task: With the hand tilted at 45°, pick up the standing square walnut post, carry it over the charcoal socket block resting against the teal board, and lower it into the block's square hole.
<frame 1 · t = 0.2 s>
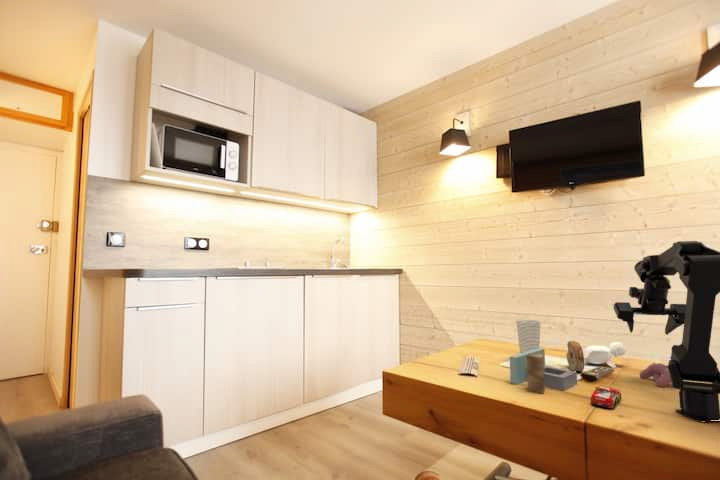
hand: (648, 332, 114), 15 cm above the table, tool tilted 35°, fingers open, 9 cm apart
newspaper: (471, 370, 127), on the table
backstop board: (528, 377, 115), on the table
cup: (529, 363, 134), on the table
walnut post: (536, 390, 102), on the table
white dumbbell: (603, 365, 131), on the table
race car: (606, 403, 94), on the table
video game controller: (658, 383, 110), on the table
stone disc: (576, 371, 123), on the table
socket block: (553, 384, 109), on the table
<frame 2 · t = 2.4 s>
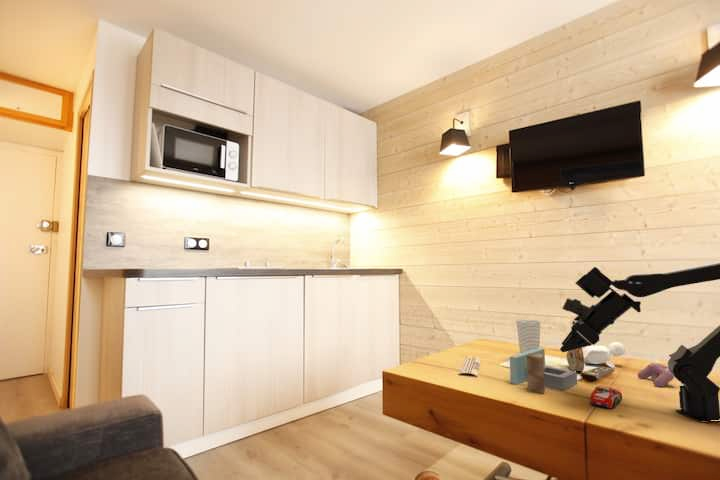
hand: (562, 347, 100), 13 cm above the table, tool tilted 45°, fingers open, 9 cm apart
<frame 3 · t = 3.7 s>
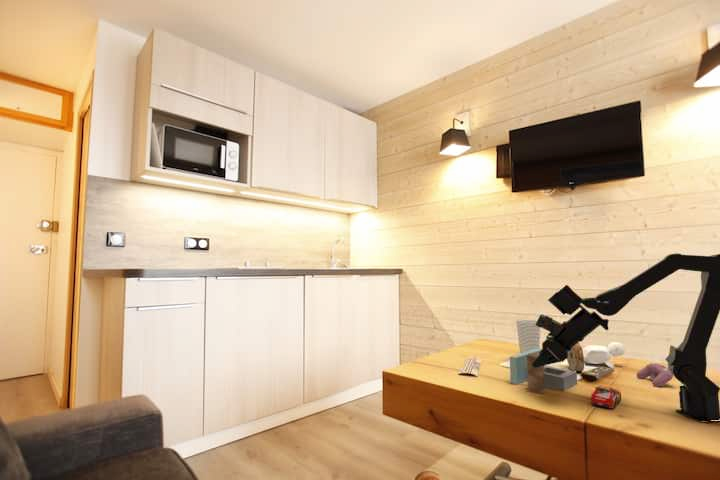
hand: (535, 362, 103), 8 cm above the table, tool tilted 45°, fingers open, 9 cm apart
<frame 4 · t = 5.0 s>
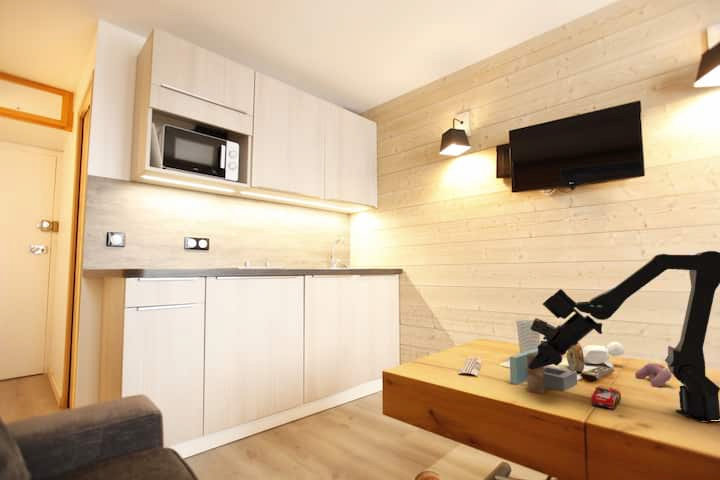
hand: (530, 366, 104), 7 cm above the table, tool tilted 45°, fingers closed on walnut post, 4 cm apart
walnut post: (536, 390, 102), on the table, touching gripper
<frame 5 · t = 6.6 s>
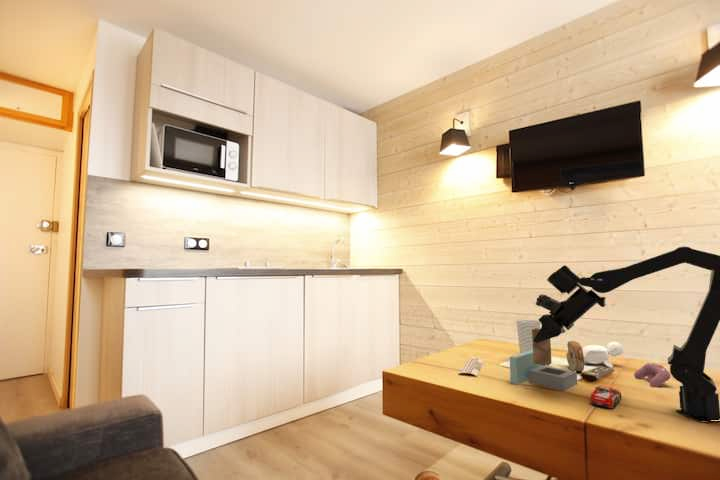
hand: (536, 340, 108), 13 cm above the table, tool tilted 45°, fingers closed on walnut post, 4 cm apart
walnut post: (542, 363, 106), point 7 cm above the table, touching gripper
when the fingers open (8 cm above the table, at t = 8.7 s): walnut post stays where it is, point 1 cm above the table.
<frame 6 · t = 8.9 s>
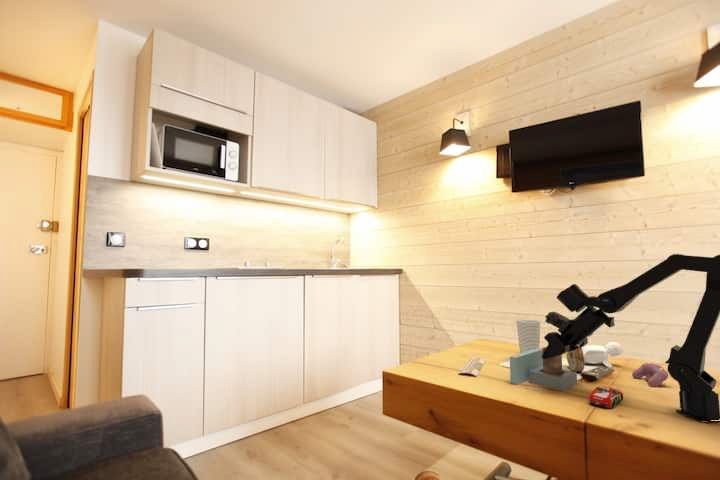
hand: (547, 356, 111), 8 cm above the table, tool tilted 45°, fingers open, 6 cm apart
walnut post: (552, 381, 109), point 1 cm above the table
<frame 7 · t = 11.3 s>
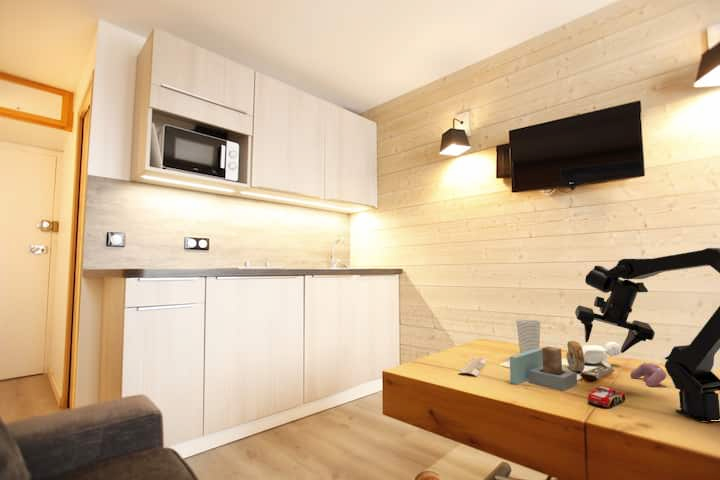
hand: (603, 347, 106), 12 cm above the table, tool tilted 25°, fingers open, 9 cm apart
walnut post: (553, 381, 109), point 1 cm above the table, touching socket block
socket block: (553, 384, 109), on the table, touching walnut post
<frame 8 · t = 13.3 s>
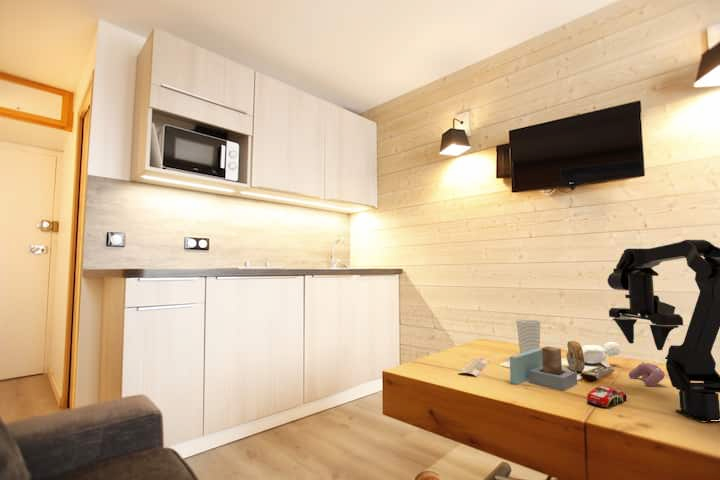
hand: (644, 346, 101), 13 cm above the table, tool pointing down, fingers open, 9 cm apart
at the end: walnut post 0.1 cm off-centre on the socket block, point 1.0 cm above the socket block's base; walnut post tilted 0°; the gripper is holding nothing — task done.
